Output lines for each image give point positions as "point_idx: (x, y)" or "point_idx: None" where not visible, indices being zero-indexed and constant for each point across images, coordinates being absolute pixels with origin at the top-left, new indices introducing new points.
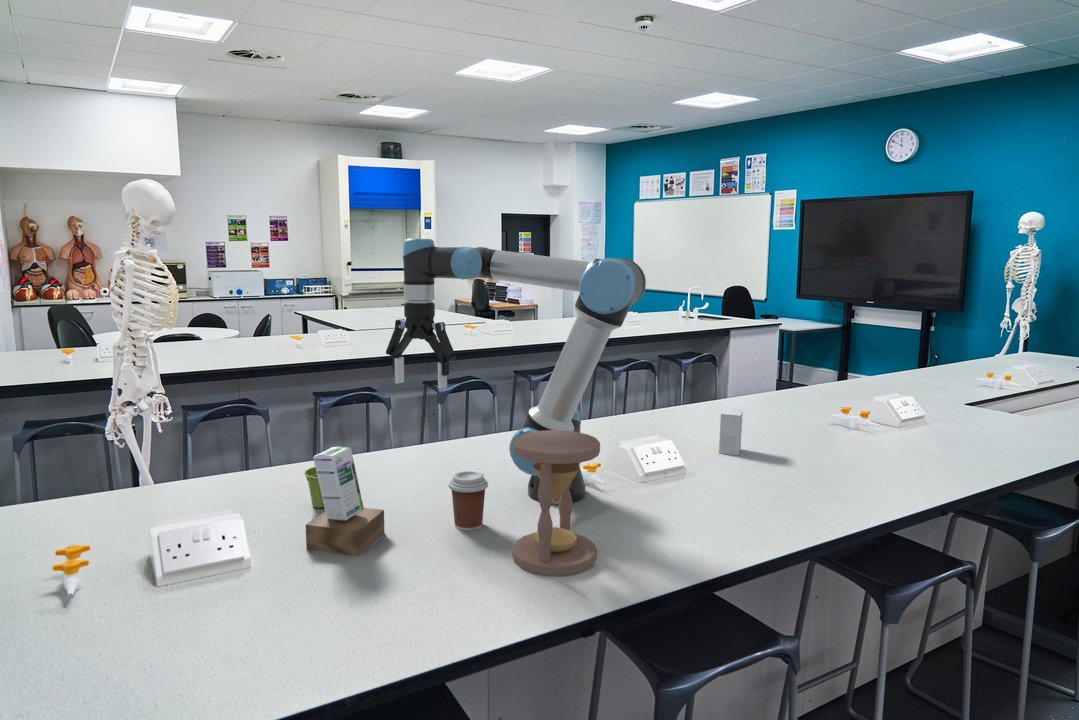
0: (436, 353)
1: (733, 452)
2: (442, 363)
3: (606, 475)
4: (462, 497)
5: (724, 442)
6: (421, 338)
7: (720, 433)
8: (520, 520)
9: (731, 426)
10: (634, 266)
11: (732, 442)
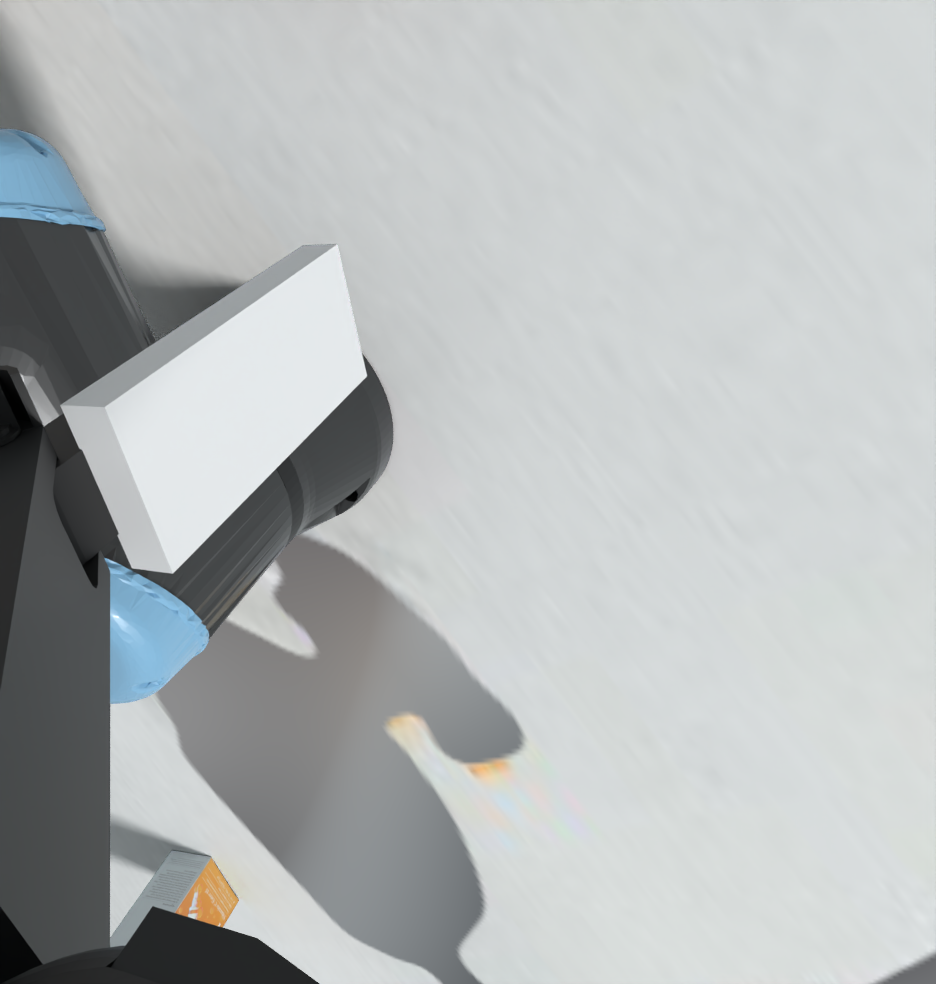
0: (1, 526)
1: (177, 857)
2: (72, 443)
3: (296, 629)
4: None
5: (181, 884)
6: (167, 955)
7: (175, 908)
8: (181, 68)
9: (138, 926)
10: None
11: (163, 883)
